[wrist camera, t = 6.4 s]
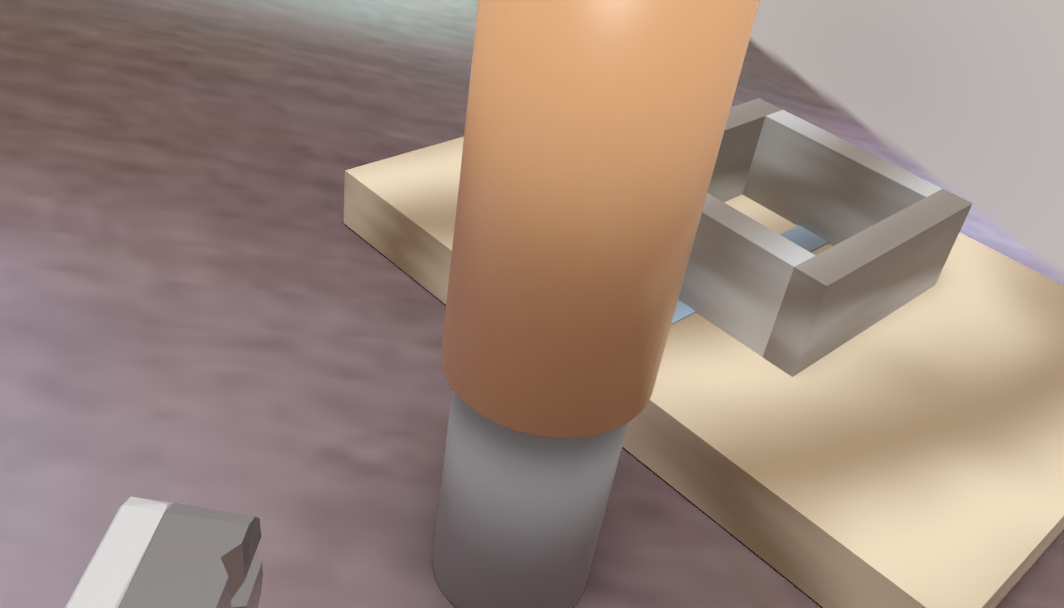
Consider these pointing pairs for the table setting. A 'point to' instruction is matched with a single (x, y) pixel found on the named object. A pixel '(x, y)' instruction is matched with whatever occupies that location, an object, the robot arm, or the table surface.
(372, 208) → the plywood panel
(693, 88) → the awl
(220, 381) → the table surface
